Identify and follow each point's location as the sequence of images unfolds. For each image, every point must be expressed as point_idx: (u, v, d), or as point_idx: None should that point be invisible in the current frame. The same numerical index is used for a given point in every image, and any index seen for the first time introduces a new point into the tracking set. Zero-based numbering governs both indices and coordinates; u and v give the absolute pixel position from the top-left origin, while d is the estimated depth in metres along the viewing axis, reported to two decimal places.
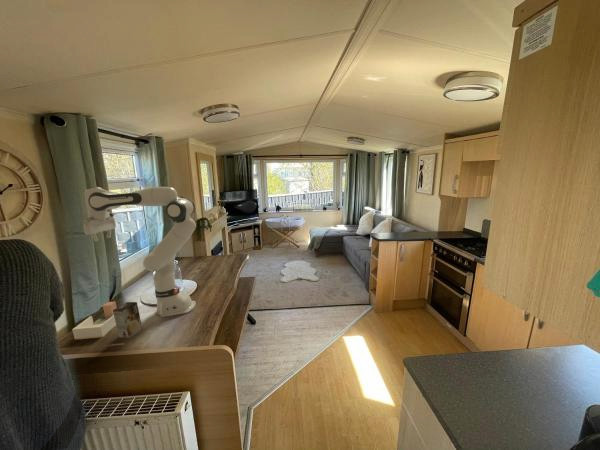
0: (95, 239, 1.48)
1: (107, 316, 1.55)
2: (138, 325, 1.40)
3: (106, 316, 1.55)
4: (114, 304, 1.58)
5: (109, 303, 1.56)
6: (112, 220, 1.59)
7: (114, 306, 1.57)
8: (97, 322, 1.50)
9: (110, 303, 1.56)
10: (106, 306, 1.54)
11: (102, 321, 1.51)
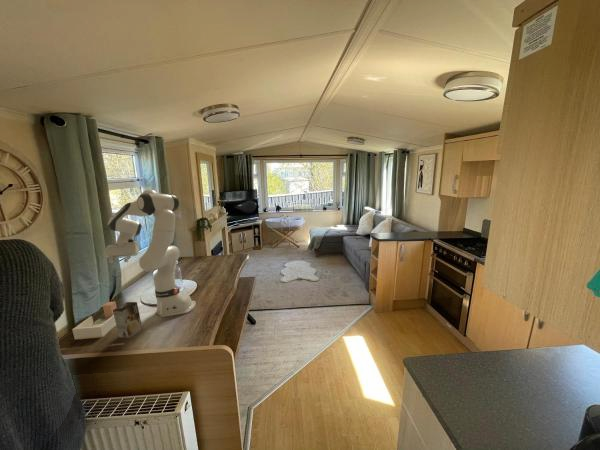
0: None
1: (107, 316, 1.55)
2: (138, 325, 1.40)
3: (106, 316, 1.55)
4: (114, 304, 1.58)
5: (109, 303, 1.56)
6: (133, 246, 1.72)
7: (114, 306, 1.57)
8: (97, 322, 1.50)
9: (110, 303, 1.56)
10: (106, 306, 1.54)
11: (102, 321, 1.51)
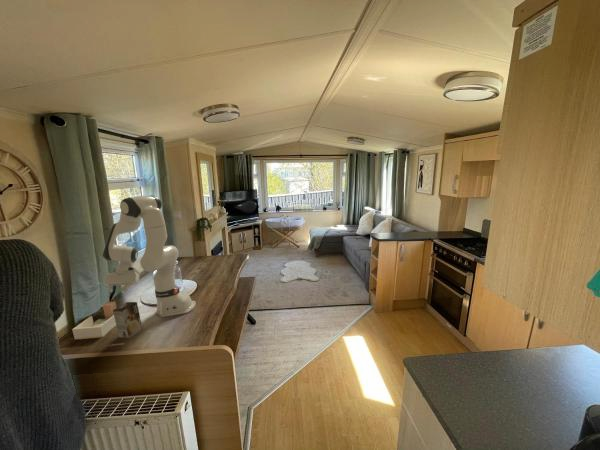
0: None
1: (107, 316, 1.55)
2: (138, 325, 1.40)
3: (106, 316, 1.55)
4: (114, 304, 1.58)
5: (109, 303, 1.56)
6: (133, 274, 1.69)
7: (114, 306, 1.57)
8: (97, 322, 1.50)
9: (110, 303, 1.56)
10: (106, 306, 1.54)
11: (102, 321, 1.51)
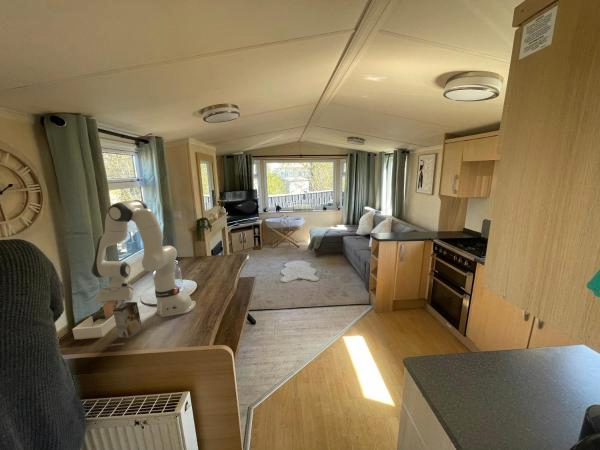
0: None
1: (107, 316, 1.55)
2: (138, 324, 1.40)
3: (106, 316, 1.55)
4: (114, 304, 1.58)
5: (109, 303, 1.56)
6: (126, 290, 1.62)
7: None
8: (97, 322, 1.50)
9: (110, 303, 1.56)
10: (106, 306, 1.54)
11: (102, 321, 1.51)
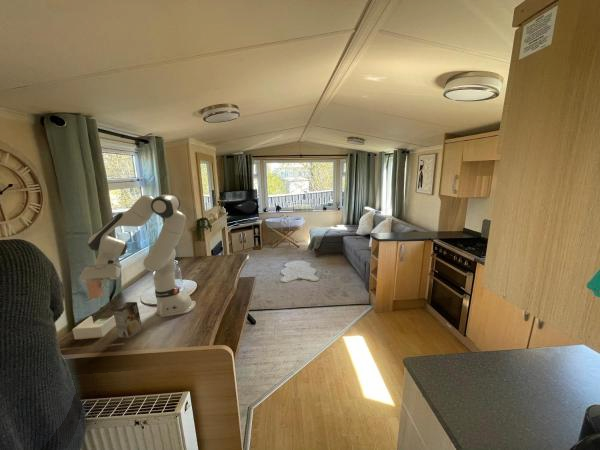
0: None
1: (91, 295, 1.43)
2: (138, 324, 1.40)
3: (90, 295, 1.43)
4: (99, 282, 1.45)
5: (93, 281, 1.44)
6: (113, 268, 1.49)
7: None
8: (97, 322, 1.50)
9: (94, 281, 1.44)
10: (90, 284, 1.42)
11: (102, 321, 1.51)
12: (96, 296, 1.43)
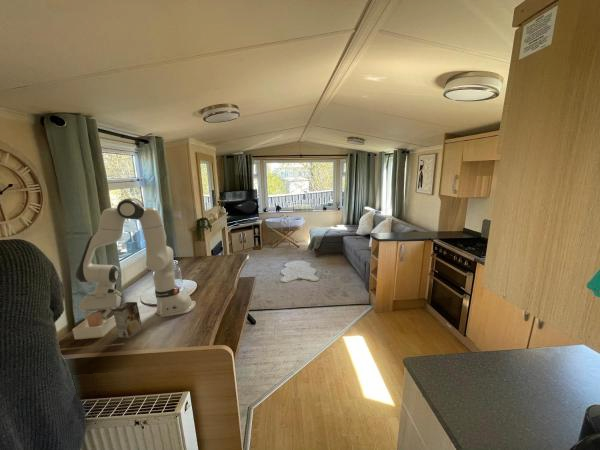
0: None
1: None
2: (138, 325, 1.40)
3: None
4: (100, 315, 1.42)
5: (94, 314, 1.41)
6: (113, 297, 1.46)
7: (100, 317, 1.42)
8: None
9: (95, 314, 1.41)
10: (90, 317, 1.39)
11: None
12: None
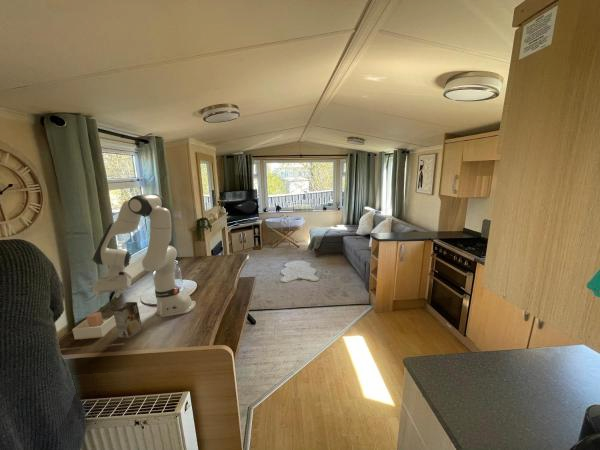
0: None
1: None
2: (138, 325, 1.40)
3: None
4: (100, 315, 1.42)
5: (94, 314, 1.41)
6: (124, 279, 1.57)
7: (100, 317, 1.42)
8: None
9: (95, 314, 1.41)
10: (90, 317, 1.39)
11: None
12: None
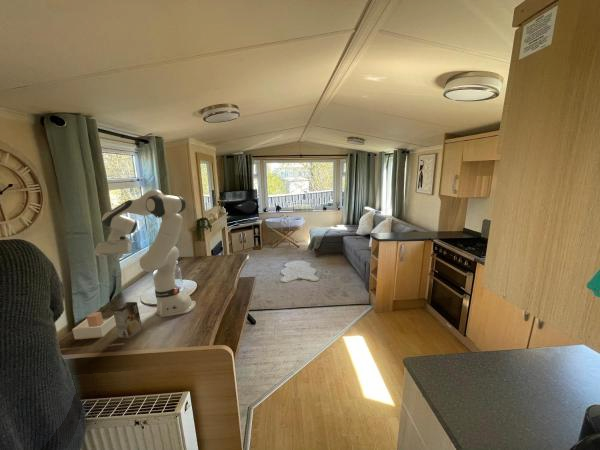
0: None
1: None
2: (138, 324, 1.40)
3: None
4: (100, 315, 1.42)
5: (94, 314, 1.41)
6: (124, 243, 1.63)
7: (100, 317, 1.42)
8: None
9: (95, 314, 1.41)
10: (90, 317, 1.39)
11: None
12: None
